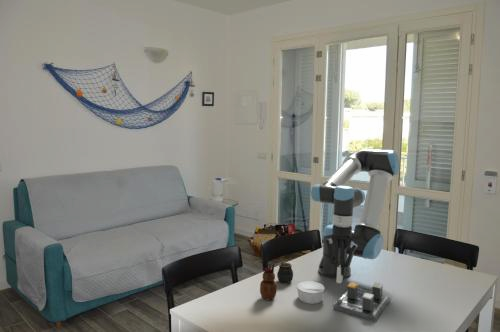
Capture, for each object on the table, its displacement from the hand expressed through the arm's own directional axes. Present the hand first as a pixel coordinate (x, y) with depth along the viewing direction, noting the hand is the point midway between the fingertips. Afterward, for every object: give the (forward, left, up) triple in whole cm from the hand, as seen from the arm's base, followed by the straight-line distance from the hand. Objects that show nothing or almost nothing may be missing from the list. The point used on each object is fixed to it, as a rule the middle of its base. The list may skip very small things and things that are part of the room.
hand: (339, 281), depth 159 cm
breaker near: (+14, -6, -5) cm, 15 cm away
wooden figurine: (-23, -17, -8) cm, 30 cm away
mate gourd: (-26, +2, -8) cm, 28 cm away
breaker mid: (+5, 0, -5) cm, 7 cm away
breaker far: (+14, +6, -5) cm, 16 cm away
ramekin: (-9, -7, -8) cm, 14 cm away
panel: (+10, 0, -7) cm, 12 cm away
